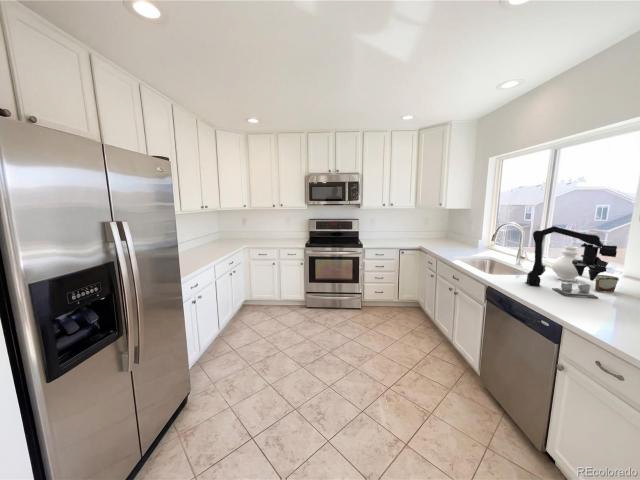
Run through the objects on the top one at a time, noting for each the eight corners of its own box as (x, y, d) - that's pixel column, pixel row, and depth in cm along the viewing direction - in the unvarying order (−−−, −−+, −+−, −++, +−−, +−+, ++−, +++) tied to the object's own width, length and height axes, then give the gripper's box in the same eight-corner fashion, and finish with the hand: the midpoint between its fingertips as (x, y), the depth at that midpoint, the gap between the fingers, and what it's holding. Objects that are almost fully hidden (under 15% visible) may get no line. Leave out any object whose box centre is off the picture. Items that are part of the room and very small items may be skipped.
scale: (564, 296, 154) (564, 294, 154) (552, 289, 166) (552, 287, 166) (598, 298, 150) (598, 297, 150) (583, 291, 161) (583, 290, 161)
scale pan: (564, 293, 156) (565, 292, 155) (555, 288, 164) (555, 287, 164) (594, 296, 152) (594, 294, 151) (583, 290, 160) (583, 289, 160)
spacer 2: (581, 292, 155) (582, 285, 154) (575, 290, 160) (576, 282, 159) (591, 293, 153) (592, 285, 153) (585, 290, 158) (586, 283, 157)
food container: (606, 288, 166) (609, 274, 164) (616, 292, 160) (619, 277, 158) (586, 288, 167) (589, 274, 166) (595, 291, 161) (598, 277, 160)
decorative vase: (543, 275, 195) (548, 245, 191) (564, 274, 196) (569, 244, 192) (566, 283, 178) (572, 249, 174) (589, 282, 179) (595, 249, 175)
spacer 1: (566, 292, 156) (567, 284, 155) (558, 289, 161) (559, 282, 160) (573, 291, 157) (574, 283, 156) (565, 288, 162) (566, 281, 161)
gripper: (620, 258, 141) (615, 284, 144) (594, 251, 159) (590, 274, 162) (596, 257, 144) (591, 282, 147) (573, 251, 162) (569, 273, 165)
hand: (585, 278), depth 155 cm, fingers open, 9 cm apart
